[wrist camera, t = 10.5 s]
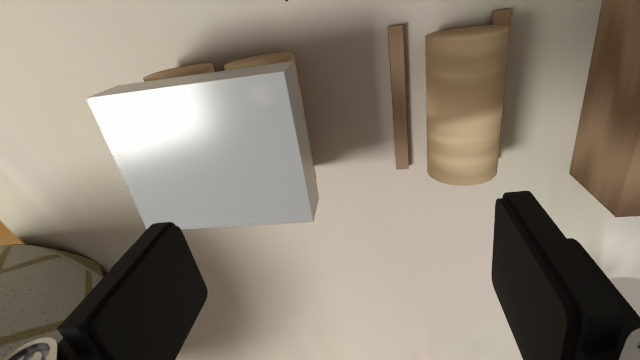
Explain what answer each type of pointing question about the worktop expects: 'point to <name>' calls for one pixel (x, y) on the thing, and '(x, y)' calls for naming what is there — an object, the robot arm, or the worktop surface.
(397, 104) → the bed rollers
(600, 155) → the stop block
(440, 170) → the roller
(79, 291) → the planter
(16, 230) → the worktop surface
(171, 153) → the slab
